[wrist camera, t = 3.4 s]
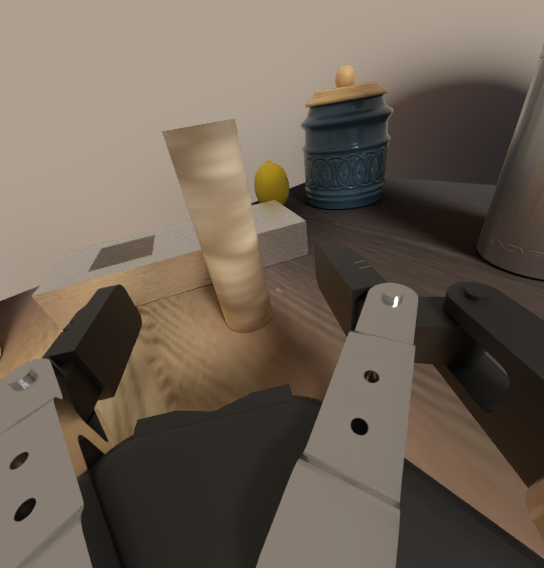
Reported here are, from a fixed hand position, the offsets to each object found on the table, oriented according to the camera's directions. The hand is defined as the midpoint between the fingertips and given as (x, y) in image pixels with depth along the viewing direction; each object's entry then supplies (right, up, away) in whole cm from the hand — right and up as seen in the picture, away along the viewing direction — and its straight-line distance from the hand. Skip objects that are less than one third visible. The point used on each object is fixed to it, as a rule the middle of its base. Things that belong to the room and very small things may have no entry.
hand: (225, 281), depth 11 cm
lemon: (+3, +12, +33) cm, 35 cm away
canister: (+15, +15, +33) cm, 39 cm away
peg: (0, -3, +11) cm, 11 cm away
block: (-8, +2, +20) cm, 21 cm away
